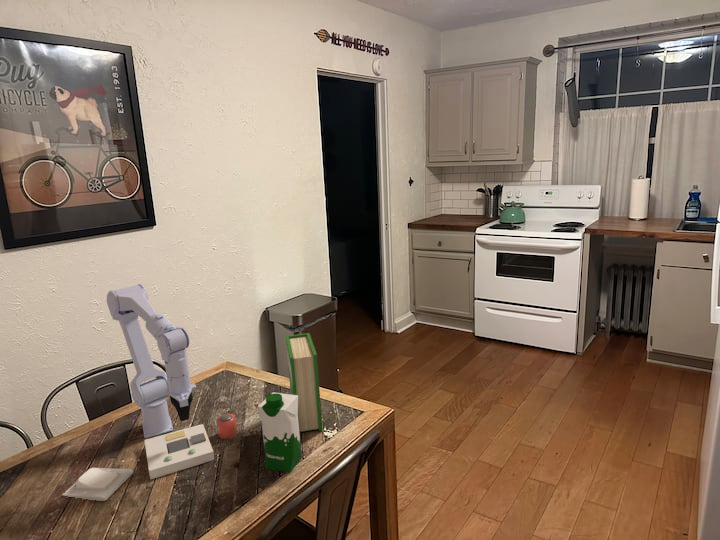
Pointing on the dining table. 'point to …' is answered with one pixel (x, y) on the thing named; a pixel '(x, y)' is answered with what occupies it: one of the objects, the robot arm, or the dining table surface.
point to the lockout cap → (227, 426)
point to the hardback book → (304, 380)
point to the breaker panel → (182, 459)
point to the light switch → (98, 483)
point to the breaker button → (177, 446)
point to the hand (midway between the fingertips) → (184, 419)
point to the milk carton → (280, 431)
